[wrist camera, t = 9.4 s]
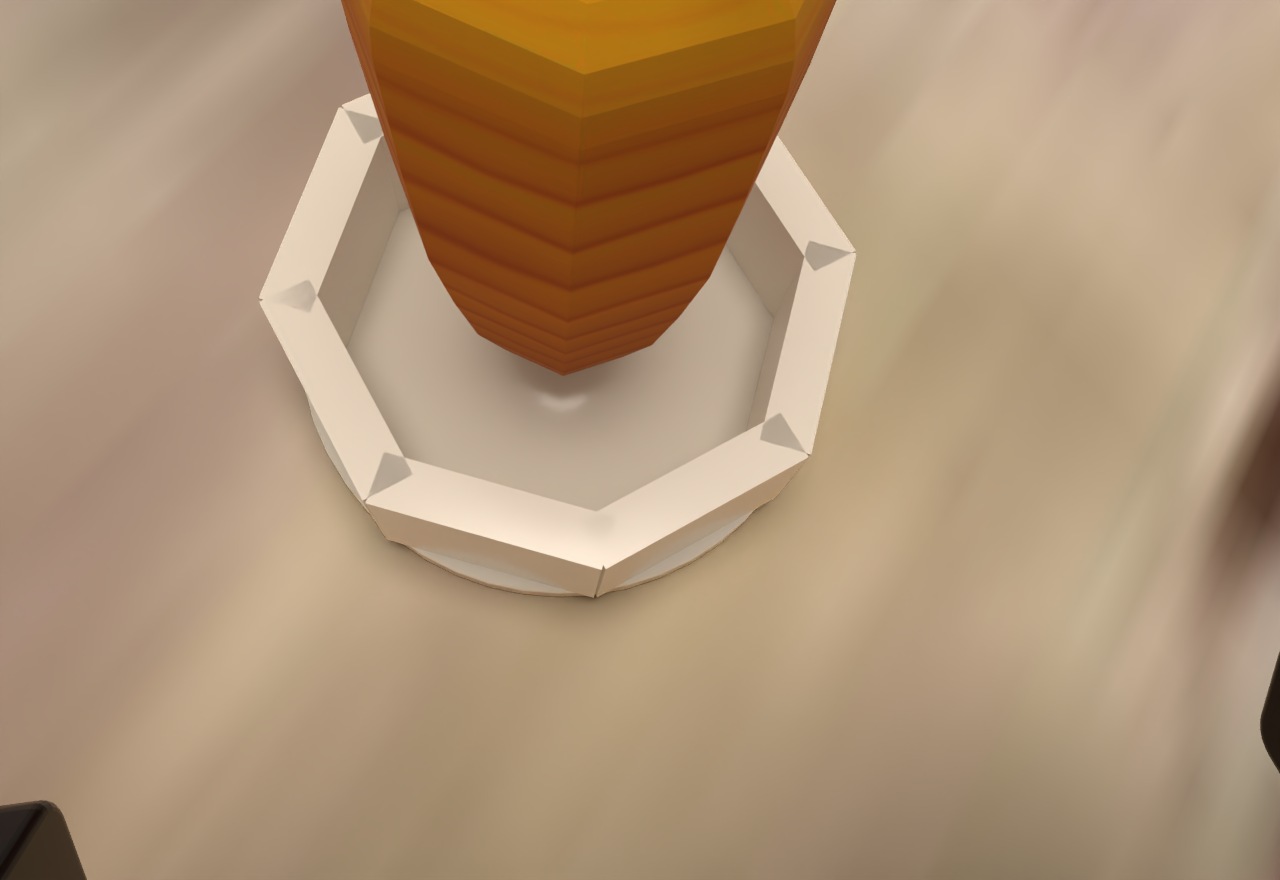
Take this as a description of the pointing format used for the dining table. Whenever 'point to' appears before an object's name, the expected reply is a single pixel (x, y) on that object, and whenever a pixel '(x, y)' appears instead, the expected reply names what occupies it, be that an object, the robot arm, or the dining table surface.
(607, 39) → the carrot
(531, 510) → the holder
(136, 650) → the dining table surface
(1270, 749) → the robot arm
